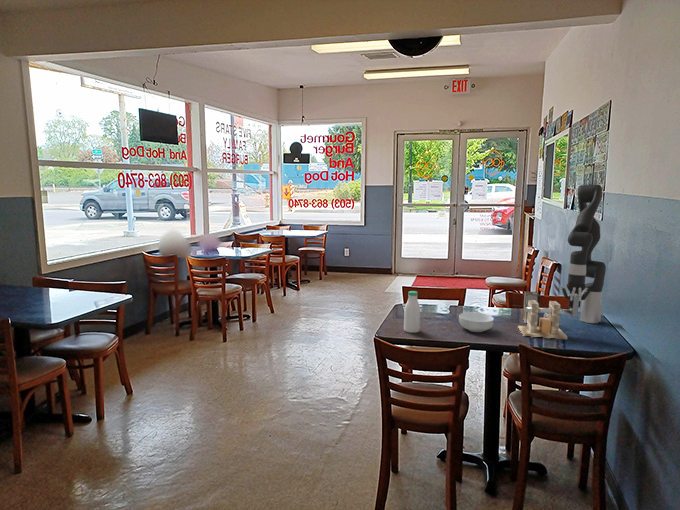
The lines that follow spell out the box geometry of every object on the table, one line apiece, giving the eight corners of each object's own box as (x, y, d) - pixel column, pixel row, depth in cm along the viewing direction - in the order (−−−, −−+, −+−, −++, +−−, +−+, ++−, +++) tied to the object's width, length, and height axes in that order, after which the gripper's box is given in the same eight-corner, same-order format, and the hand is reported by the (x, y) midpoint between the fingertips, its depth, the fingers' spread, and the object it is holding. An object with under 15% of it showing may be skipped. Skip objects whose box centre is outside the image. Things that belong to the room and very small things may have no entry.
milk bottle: (421, 332, 241) (423, 293, 238) (406, 333, 240) (407, 293, 237) (416, 328, 249) (418, 289, 246) (401, 328, 248) (403, 290, 245)
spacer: (547, 329, 246) (548, 317, 245) (550, 333, 240) (551, 321, 239) (538, 329, 246) (539, 317, 245) (541, 332, 240) (542, 320, 239)
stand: (558, 330, 249) (561, 300, 246) (567, 339, 235) (570, 307, 233) (517, 328, 252) (520, 298, 249) (523, 336, 238) (526, 304, 235)
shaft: (574, 314, 242) (576, 295, 240) (577, 317, 238) (579, 297, 236) (525, 312, 245) (526, 292, 244) (527, 314, 241) (529, 294, 239)
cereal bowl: (455, 332, 243) (456, 318, 242) (460, 323, 259) (461, 310, 258) (491, 337, 237) (492, 322, 236) (494, 327, 252) (495, 314, 251)
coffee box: (538, 325, 258) (540, 295, 256) (525, 324, 259) (527, 294, 257) (534, 320, 267) (537, 291, 264) (522, 319, 268) (524, 290, 266)
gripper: (589, 272, 239) (586, 306, 242) (559, 271, 241) (556, 305, 244) (595, 275, 232) (591, 310, 235) (564, 273, 234) (561, 309, 237)
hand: (574, 307), depth 239 cm, fingers closed on shaft, 2 cm apart
